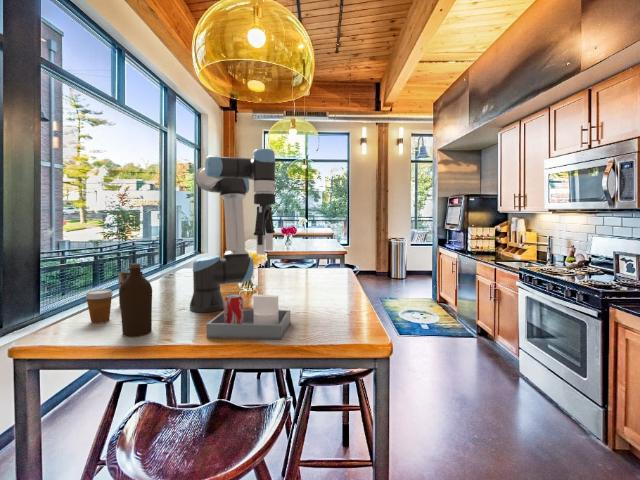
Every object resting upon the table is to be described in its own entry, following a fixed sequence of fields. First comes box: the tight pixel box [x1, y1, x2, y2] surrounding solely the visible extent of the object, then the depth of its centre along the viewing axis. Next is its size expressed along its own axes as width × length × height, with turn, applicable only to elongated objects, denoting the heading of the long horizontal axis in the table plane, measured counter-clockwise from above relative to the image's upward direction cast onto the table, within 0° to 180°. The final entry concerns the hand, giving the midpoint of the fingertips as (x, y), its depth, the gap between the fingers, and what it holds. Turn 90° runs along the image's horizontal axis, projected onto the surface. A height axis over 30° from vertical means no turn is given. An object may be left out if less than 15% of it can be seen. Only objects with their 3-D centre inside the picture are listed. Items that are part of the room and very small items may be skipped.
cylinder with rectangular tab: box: [252, 294, 279, 325], centre depth 136 cm, size 9×9×12 cm
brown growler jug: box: [118, 262, 153, 338], centre depth 133 cm, size 11×11×25 cm
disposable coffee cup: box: [84, 288, 114, 324], centre depth 148 cm, size 10×10×12 cm
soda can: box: [223, 293, 245, 324], centre depth 137 cm, size 7×7×12 cm
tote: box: [205, 309, 291, 341], centre depth 137 cm, size 26×20×5 cm
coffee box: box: [117, 270, 144, 305], centre depth 173 cm, size 9×6×16 cm
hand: (265, 252), depth 135 cm, fingers open, 13 cm apart
